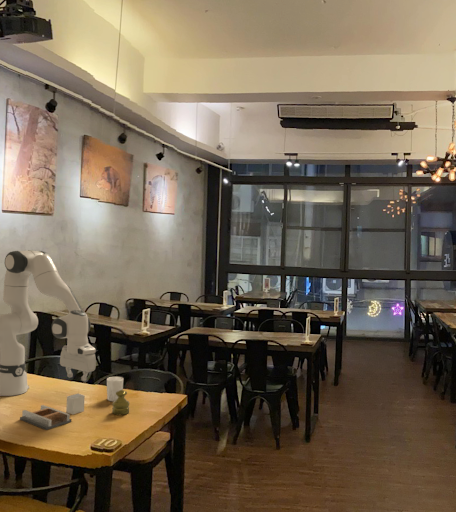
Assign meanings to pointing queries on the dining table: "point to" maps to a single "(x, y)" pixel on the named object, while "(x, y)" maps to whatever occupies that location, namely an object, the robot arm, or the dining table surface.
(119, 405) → the olive green tiered piece
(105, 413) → the dining table surface
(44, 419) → the rail plate
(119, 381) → the white cup
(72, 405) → the block
